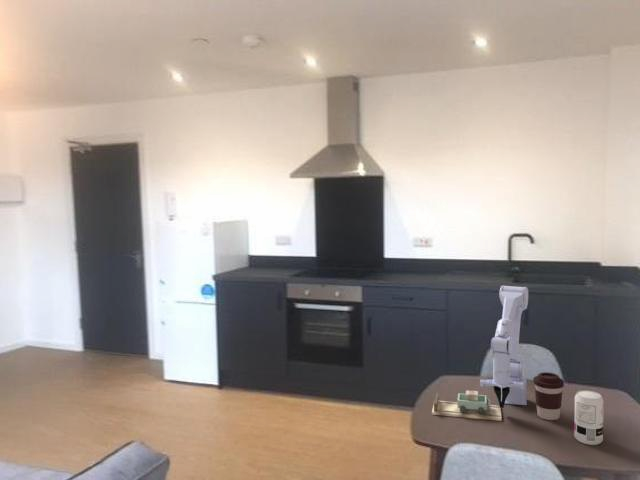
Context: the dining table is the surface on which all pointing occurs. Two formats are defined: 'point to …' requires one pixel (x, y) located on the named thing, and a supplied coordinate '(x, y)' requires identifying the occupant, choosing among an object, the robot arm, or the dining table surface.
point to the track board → (453, 410)
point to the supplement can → (588, 417)
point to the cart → (474, 403)
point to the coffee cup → (548, 395)
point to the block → (471, 395)
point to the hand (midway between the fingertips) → (501, 406)
